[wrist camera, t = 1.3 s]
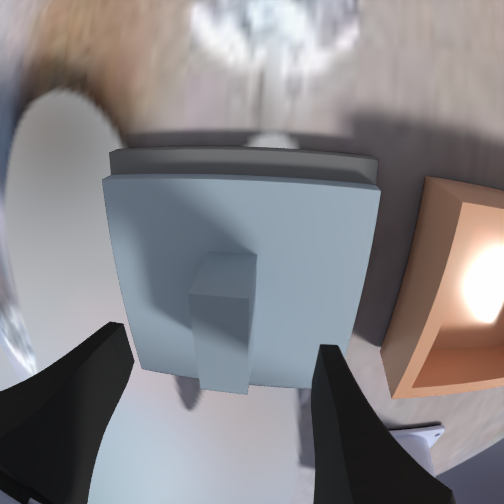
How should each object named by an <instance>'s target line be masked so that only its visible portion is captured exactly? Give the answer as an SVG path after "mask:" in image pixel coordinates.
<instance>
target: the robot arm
mask: <svg viewBox="0 0 504 504" xmlns="http://www.w3.org/2000/svg"><path fill="white" fill-rule="evenodd" d="M133 364H134V358H133V355H132V351H131V348H130V345H129V341H128V338H127V335H126V331H125V327H124V324H122V323H116V322H109V323H107V324H106V325H104V326H103V327H102V328H100V329H99V330H98V331H96V332H95V333H94V334H92V335H91V336H90V337H89V338H87V339H86V340H85V341H83V342H82V343H81V344H79V345H78V346H77V347H75V348H74V349H73V350H72V351H70V352H69V353H68V354H66V355H65V356H63V357H62V358H60V359H59V360H58V361H56V362H55V363H53V364H52V365H50V366H49V367H47V368H46V369H44V370H42V371H41V372H39V373H37V374H36V375H34V376H32V377H30V378H29V379H27V380H25V381H23V382H20V383H18V384H16V385H14V386H12V387H10V388H8V389H5V390H3V391H0V504H87V502H88V495H89V488H90V483H91V477H92V473H93V469H94V465H95V461H96V457H97V454H98V450H99V447H100V444H101V441H102V438H103V435H104V432H105V430H106V427H107V425H108V423H109V421H110V419H111V416H112V414H113V412H114V410H115V408H116V406H117V404H118V402H119V400H120V398H121V396H122V393H123V391H124V389H125V387H126V385H127V383H128V380H129V377H130V374H131V371H132V367H133ZM311 412H312V424H313V436H314V448H315V489H314V503H313V504H456V502H455V498H454V496H453V492H452V490H450V489H449V488H448V487H447V486H445V485H444V484H442V483H441V482H440V481H438V480H437V479H436V477H435V472H434V467H433V462H432V458H431V453H430V448H431V446H432V445H433V444H434V443H435V442H436V441H437V439H438V438H439V437H440V436H441V434H442V433H443V432H444V431H445V427H444V426H443V425H439V426H432V427H424V428H416V429H406V430H395V431H388V429H387V428H386V427H385V426H384V424H383V423H382V422H381V420H380V419H379V417H378V416H377V415H376V413H375V412H374V410H373V409H372V407H371V406H370V404H369V403H368V401H367V399H366V398H365V396H364V394H363V393H362V391H361V389H360V387H359V386H358V384H357V382H356V380H355V379H354V377H353V375H352V373H351V371H350V369H349V367H348V365H347V363H346V361H345V359H344V357H343V354H342V352H341V350H340V347H339V346H338V345H331V344H320V346H319V351H318V355H317V360H316V364H315V369H314V373H313V378H312V387H311Z"/></svg>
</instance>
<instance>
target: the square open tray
mask: <svg viewBox="0 0 504 504" xmlns="http://www.w3.org/2000/svg"><path fill="white" fill-rule="evenodd" d="M380 354H381V358H382V361H383V365H384V369H385V373H386V377H387V382H388V386H389V390H390V394H391V399H398V398H413V397H426V396H436V395H446V394H454V393H462V392H470V391H476V390H483V389H489V388H495V387H500V386H504V191H503V190H499V189H494V188H490V187H485V186H480V185H475V184H470V183H465V182H460V181H454V180H449V179H443V178H437V177H431V176H426V177H425V183H424V189H423V194H422V200H421V205H420V210H419V215H418V220H417V225H416V229H415V234H414V238H413V242H412V246H411V251H410V255H409V259H408V263H407V266H406V270H405V274H404V278H403V281H402V285H401V288H400V292H399V295H398V298H397V302H396V305H395V308H394V311H393V314H392V318H391V321H390V324H389V327H388V330H387V333H386V336H385V338H384V341H383V344H382V347H381V350H380Z"/></svg>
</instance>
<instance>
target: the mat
mask: <svg viewBox="0 0 504 504" xmlns="http://www.w3.org/2000/svg"><path fill="white" fill-rule="evenodd" d="M109 156H110V167H111V175H119V174H226V175H253V176H273V177H290V178H305V179H318V180H330V181H341V182H352V183H362V184H371V185H376V179H377V172H378V163H379V160H378V159H376V158H375V157H373V156H365V155H356V154H347V153H337V152H326V151H314V150H301V149H285V148H266V147H236V146H176V147H146V148H127V149H117V150H114V151H112V152H110V153H109ZM160 373H161V372H160ZM166 374H167V373H166ZM178 376H179V375H178ZM184 377H185V376H184ZM190 378H191V377H190ZM197 379H198V378H197ZM258 386H260V385H258ZM271 387H273V386H271ZM286 388H288V387H286ZM304 389H308V388H304Z"/></svg>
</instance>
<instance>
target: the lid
mask: <svg viewBox="0 0 504 504" xmlns="http://www.w3.org/2000/svg"><path fill="white" fill-rule="evenodd" d="M102 183H103V191H104V198H105V206H106V213H107V219H108V225H109V232H110V237H111V243H112V249H113V254H114V259H115V264H116V269H117V274H118V279H119V283H120V288H121V293H122V297H123V301H124V305H125V309H126V313H127V317H128V321H129V325H130V329H131V333H132V336H133V340H134V344H135V347H136V350H137V354H138V357H139V361H140V364H141V367H142V369H145V370H150V371H155V372H161V373H167V374H172V375H179V376H185V377H191V378H198V379H199V383H200V389H205V390H213V391H220V392H229V393H238V394H247V393H248V387H249V385H260V386H273V387H288V388H308V389H311V387H312V378H313V373H314V369H315V364H316V360H317V355H318V351H319V346H320V344H331V345H338V346H339V347H340V350H341V352H342V354H343V357H344V358H345V355H346V352H347V348H348V344H349V341H350V337H351V333H352V330H353V326H354V322H355V318H356V314H357V310H358V306H359V302H360V298H361V294H362V289H363V285H364V280H365V276H366V271H367V267H368V262H369V257H370V252H371V247H372V241H373V236H374V231H375V225H376V219H377V213H378V207H379V201H380V194H381V190H380V189H379V188H378V187H377V186H376V185H371V184H362V183H352V182H341V181H330V180H318V179H305V178H290V177H273V176H253V175H226V174H119V175H110V176H108V177H106V178H104V179H103V180H102Z"/></svg>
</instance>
